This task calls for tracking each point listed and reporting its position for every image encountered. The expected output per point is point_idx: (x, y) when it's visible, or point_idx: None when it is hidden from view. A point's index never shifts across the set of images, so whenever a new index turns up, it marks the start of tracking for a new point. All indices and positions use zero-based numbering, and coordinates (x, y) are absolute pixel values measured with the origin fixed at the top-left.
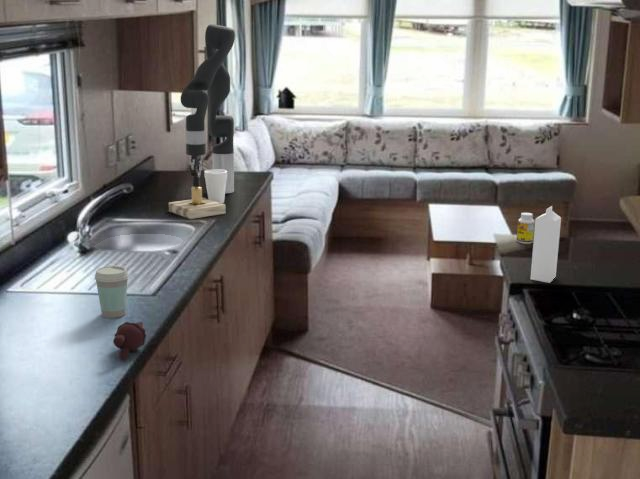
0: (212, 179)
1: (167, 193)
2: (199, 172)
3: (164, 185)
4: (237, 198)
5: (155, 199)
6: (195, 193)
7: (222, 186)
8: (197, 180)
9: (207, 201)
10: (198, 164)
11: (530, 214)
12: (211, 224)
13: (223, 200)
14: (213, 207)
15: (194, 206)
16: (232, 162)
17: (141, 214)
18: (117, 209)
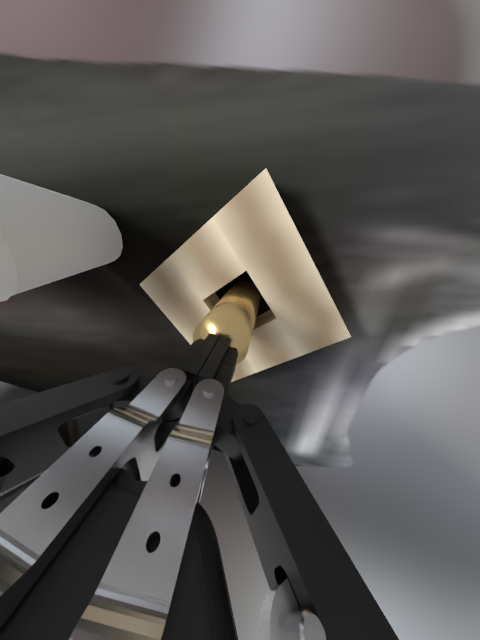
0: (14, 254)
1: (63, 357)
2: (167, 407)
3: (7, 357)
4: (12, 145)
5: None
6: (251, 336)
7: (28, 193)
8: (229, 372)
9: (199, 268)
10: (160, 637)
11: None
12: (472, 241)
13: (90, 204)
14: (301, 238)
15: (288, 319)
16: None
17: None
18: None
